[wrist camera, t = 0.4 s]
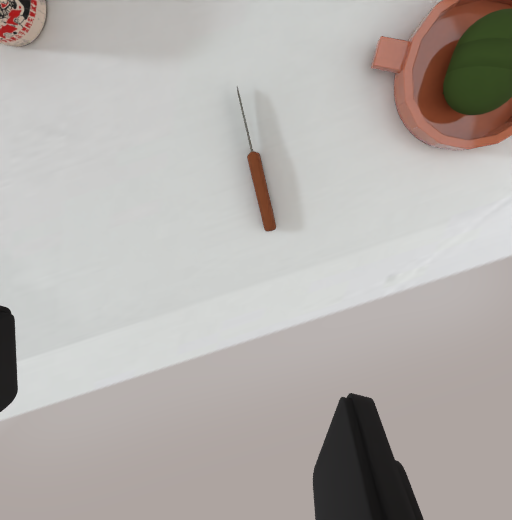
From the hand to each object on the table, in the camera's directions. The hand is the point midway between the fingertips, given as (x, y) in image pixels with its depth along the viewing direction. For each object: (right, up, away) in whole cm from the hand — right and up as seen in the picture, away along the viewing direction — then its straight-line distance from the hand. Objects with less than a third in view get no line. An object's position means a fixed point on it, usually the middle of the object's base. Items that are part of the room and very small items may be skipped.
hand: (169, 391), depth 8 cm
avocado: (+23, +22, +21) cm, 38 cm away
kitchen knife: (+2, +15, +26) cm, 30 cm away
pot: (+23, +22, +22) cm, 39 cm away
